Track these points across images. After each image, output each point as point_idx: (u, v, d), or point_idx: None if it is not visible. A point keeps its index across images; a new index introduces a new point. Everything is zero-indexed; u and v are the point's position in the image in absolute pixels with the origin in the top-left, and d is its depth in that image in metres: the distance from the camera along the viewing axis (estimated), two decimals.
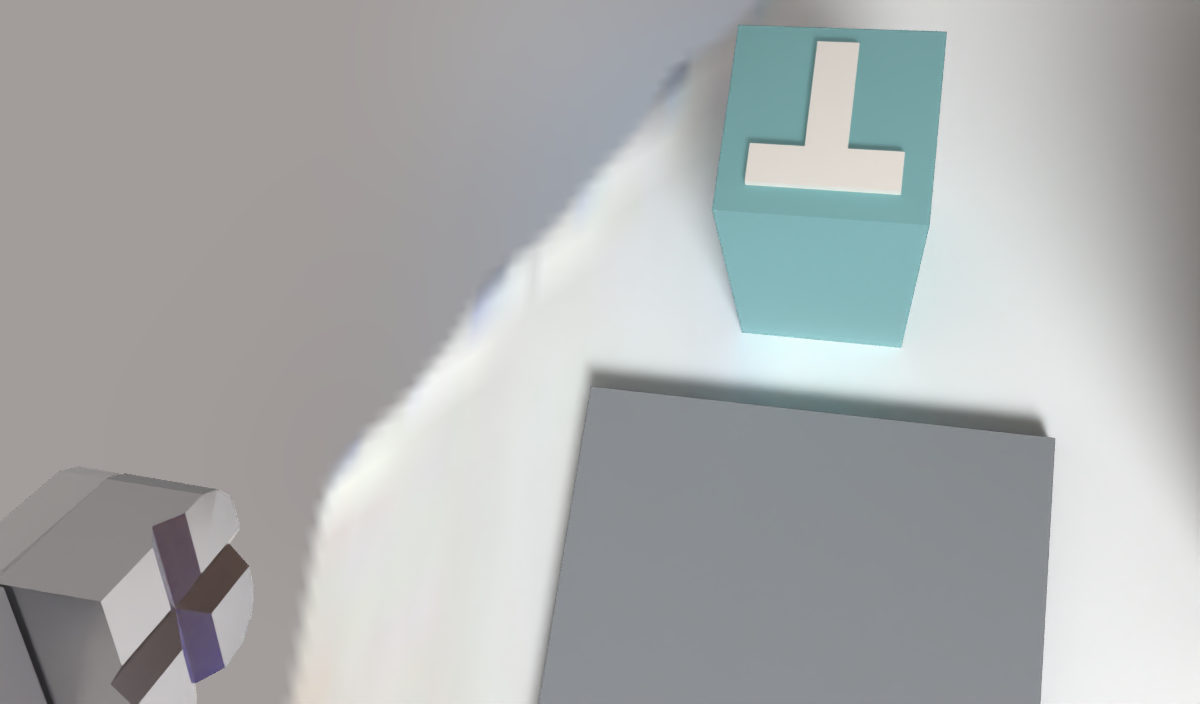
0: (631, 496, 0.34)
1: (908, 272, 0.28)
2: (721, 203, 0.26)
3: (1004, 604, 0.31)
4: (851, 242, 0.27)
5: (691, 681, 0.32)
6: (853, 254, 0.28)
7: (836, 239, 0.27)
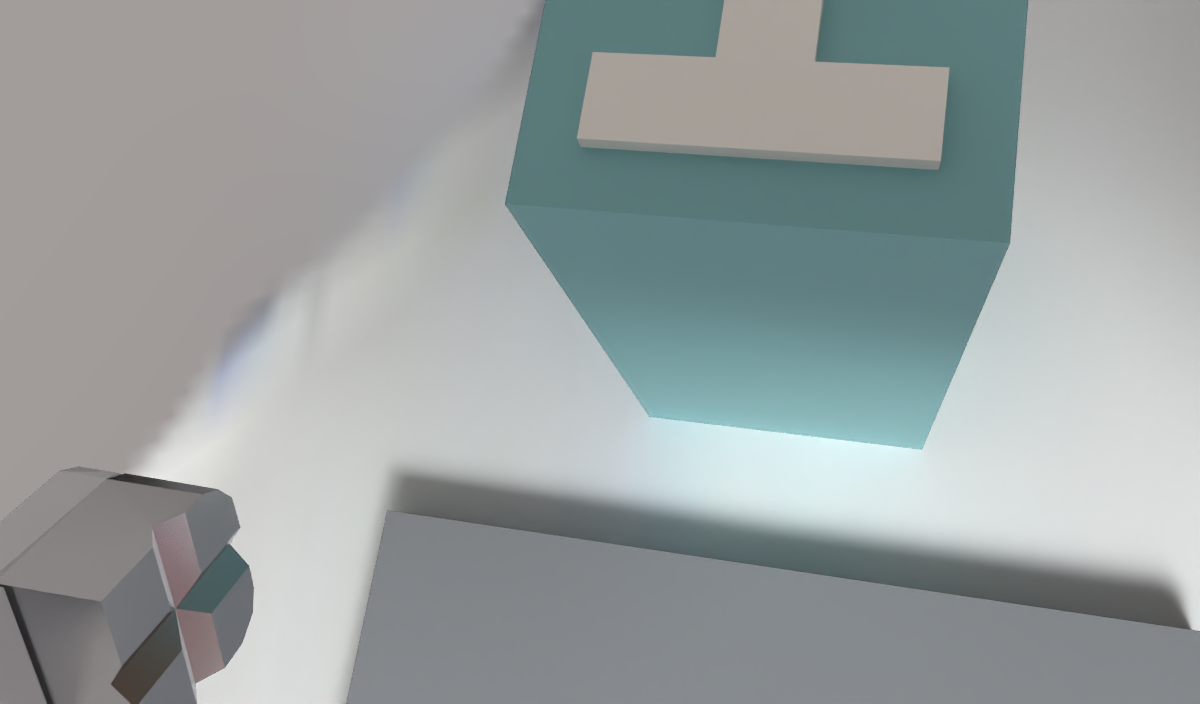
0: None
1: (947, 338, 0.13)
2: (526, 189, 0.11)
3: None
4: (824, 279, 0.12)
5: None
6: (831, 303, 0.13)
7: (791, 271, 0.12)
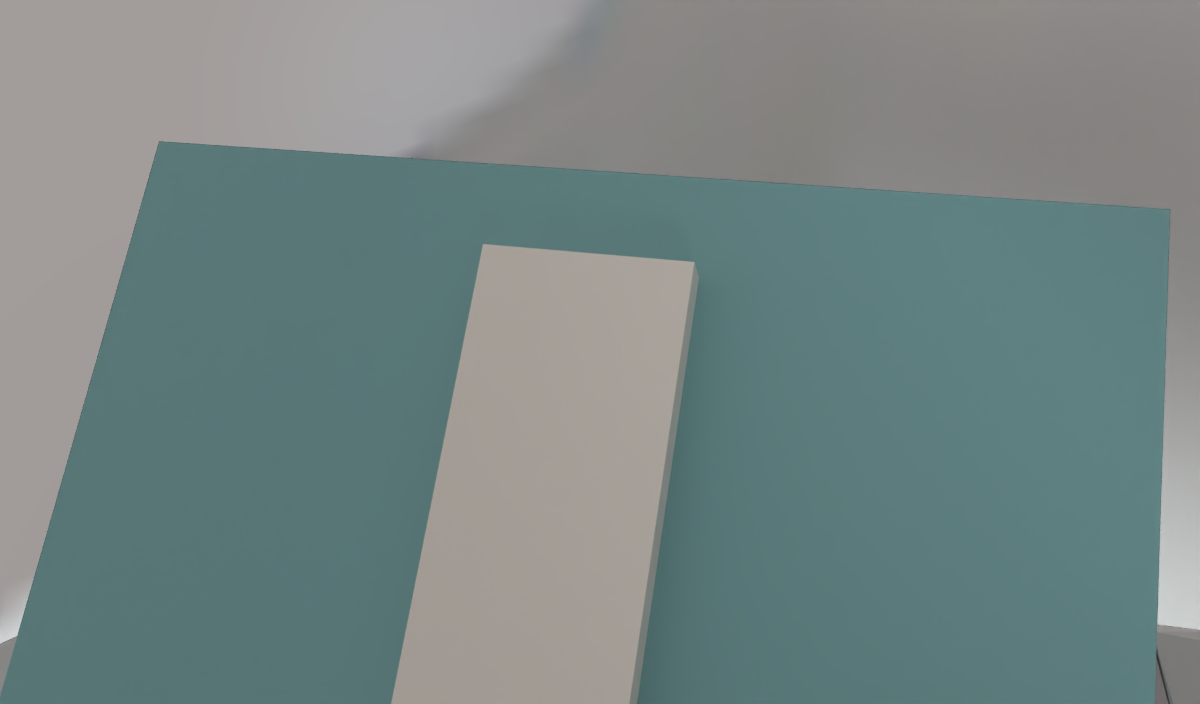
0: None
1: None
2: None
3: None
4: None
5: None
6: None
7: None
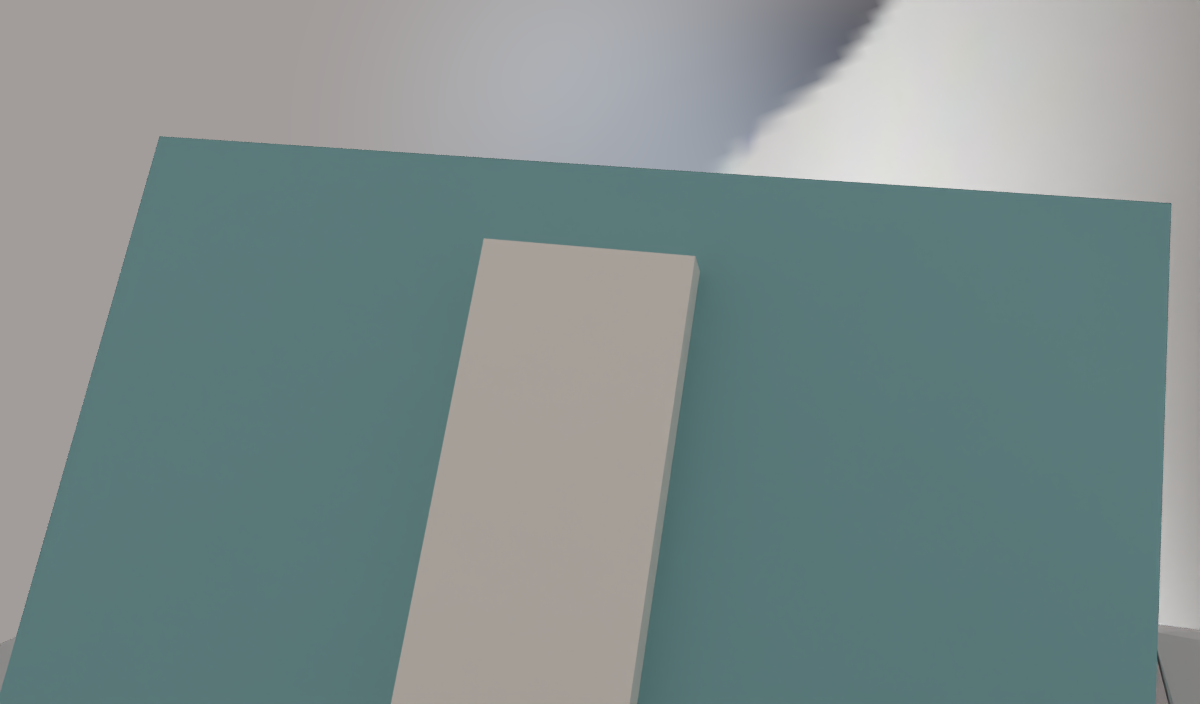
0: None
1: None
2: None
3: None
4: None
5: None
6: None
7: None
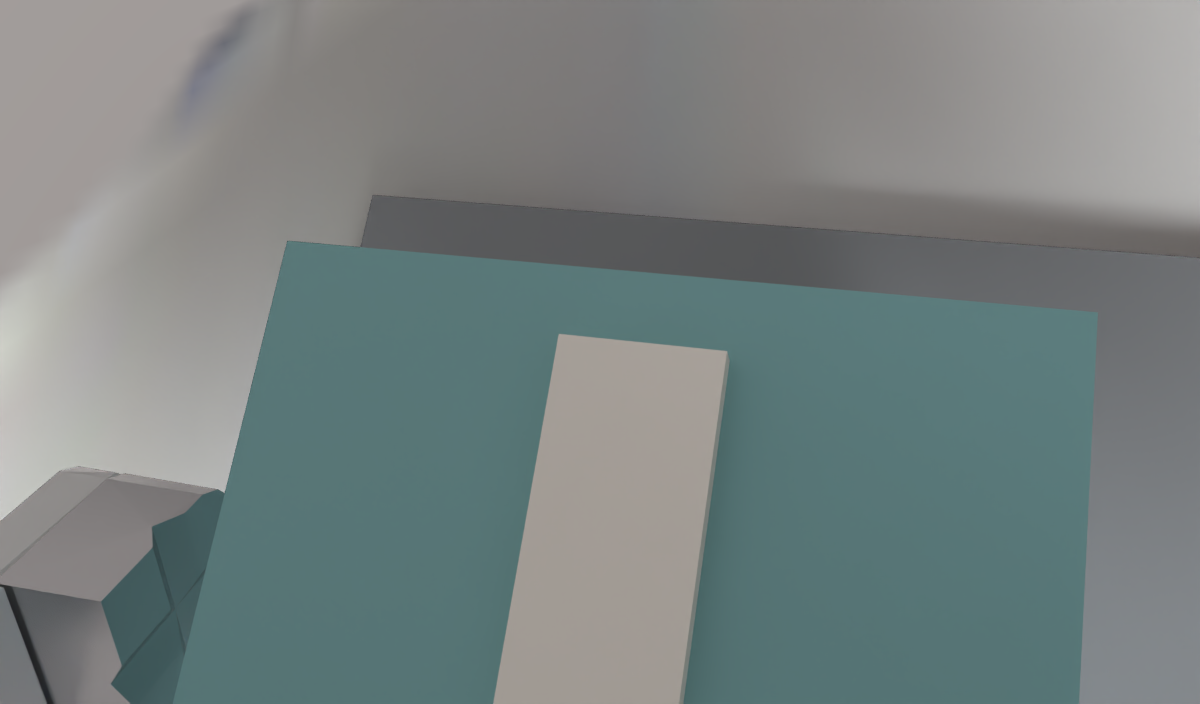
0: None
1: None
2: None
3: (1185, 603, 0.15)
4: None
5: None
6: None
7: None
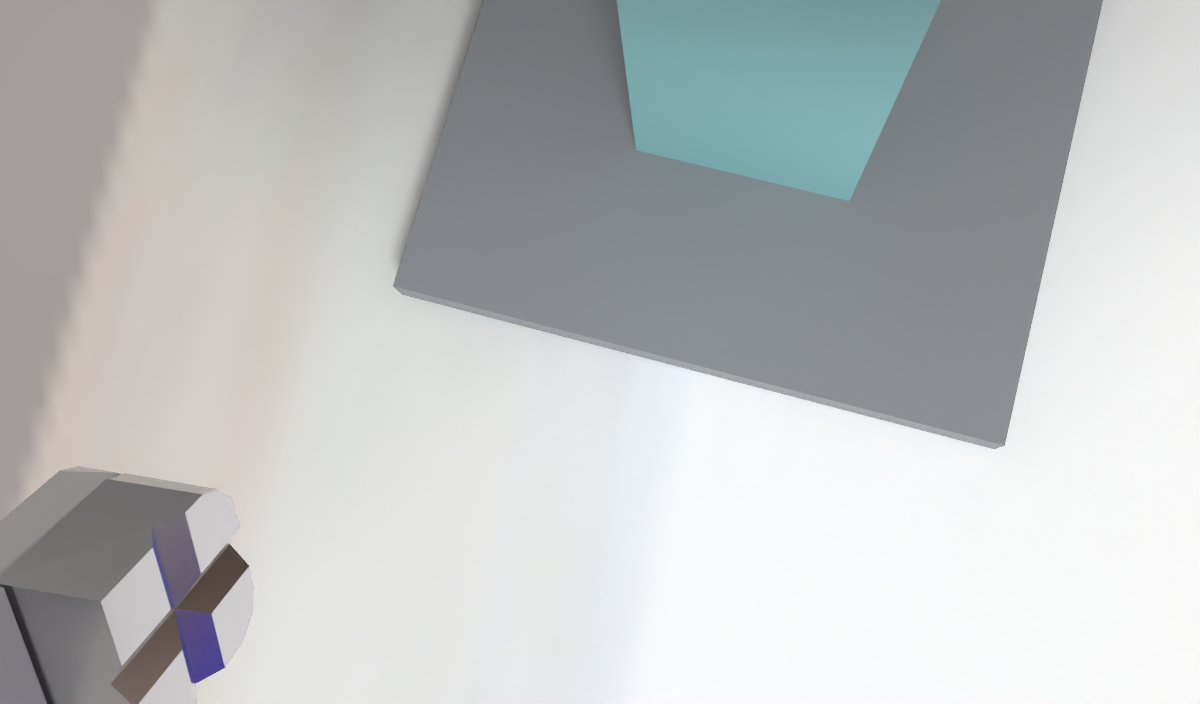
0: None
1: (894, 66, 0.18)
2: None
3: (1040, 51, 0.25)
4: None
5: None
6: (818, 22, 0.17)
7: None
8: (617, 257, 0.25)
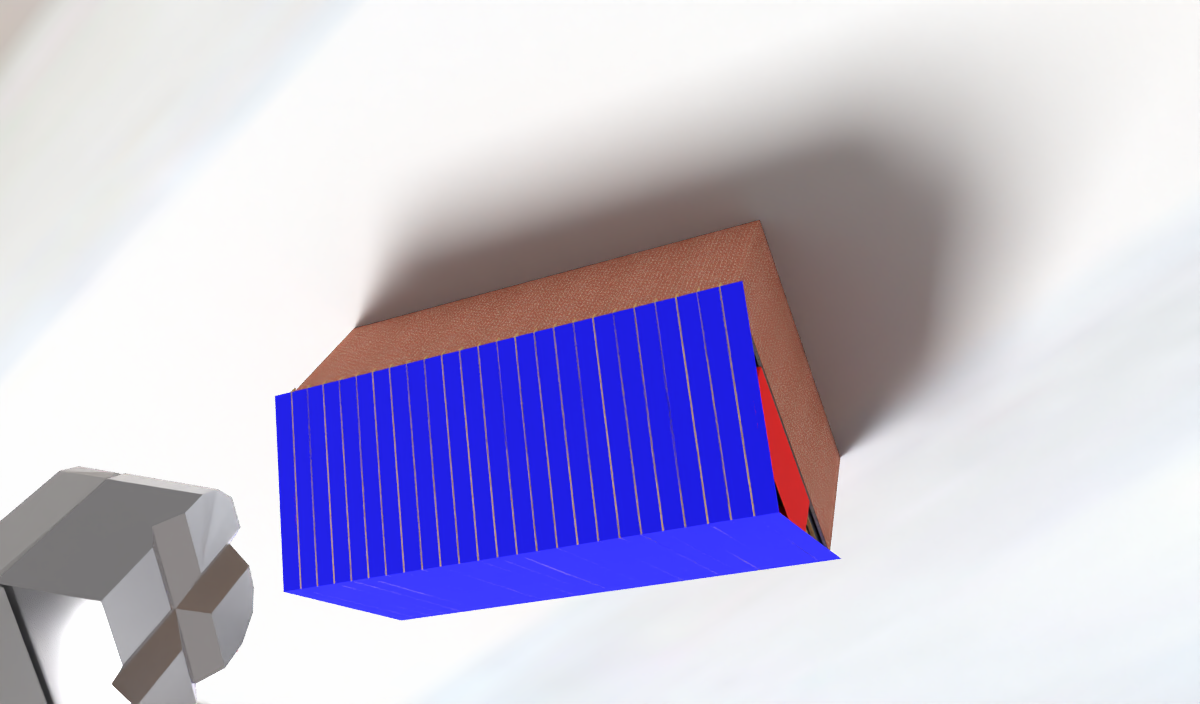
0: None
1: None
2: None
3: None
4: None
5: None
6: None
7: None
8: None
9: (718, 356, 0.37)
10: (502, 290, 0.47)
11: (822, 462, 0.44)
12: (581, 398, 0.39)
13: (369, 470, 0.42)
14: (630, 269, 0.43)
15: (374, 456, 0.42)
